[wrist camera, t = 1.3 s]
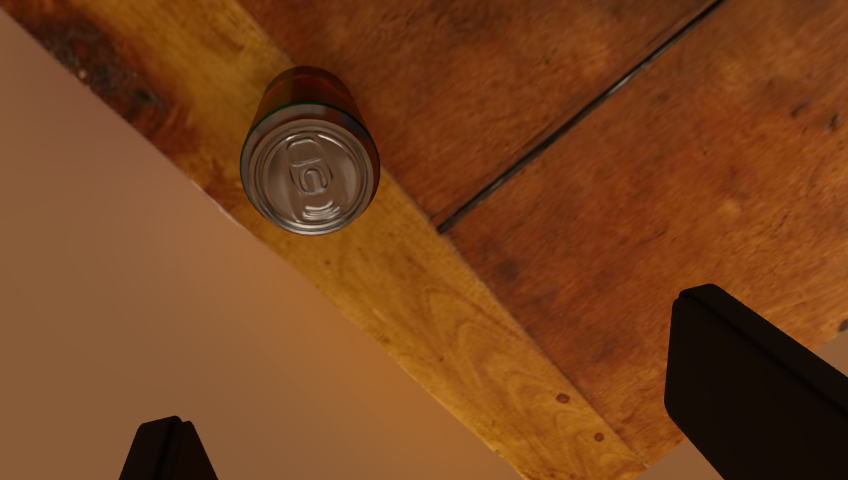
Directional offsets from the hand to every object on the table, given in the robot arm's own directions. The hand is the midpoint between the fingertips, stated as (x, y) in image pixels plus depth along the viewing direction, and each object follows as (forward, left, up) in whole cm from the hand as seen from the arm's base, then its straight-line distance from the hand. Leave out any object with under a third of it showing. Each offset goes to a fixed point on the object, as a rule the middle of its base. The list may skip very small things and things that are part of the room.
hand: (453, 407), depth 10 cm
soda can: (-3, 0, -23) cm, 23 cm away
